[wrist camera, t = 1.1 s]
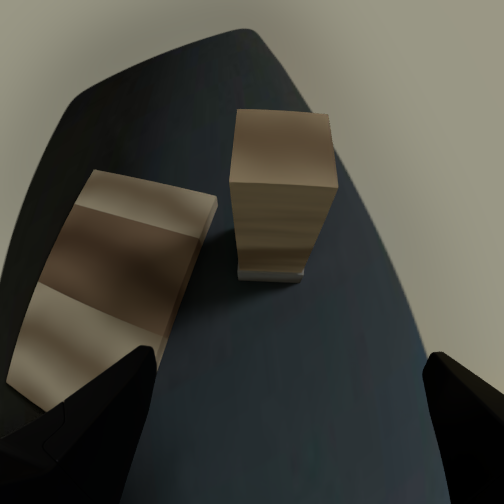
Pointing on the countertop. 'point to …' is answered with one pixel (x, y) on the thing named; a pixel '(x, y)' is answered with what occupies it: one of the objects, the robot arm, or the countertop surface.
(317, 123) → the tall wooden post
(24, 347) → the subfloor panel
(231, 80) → the countertop surface
